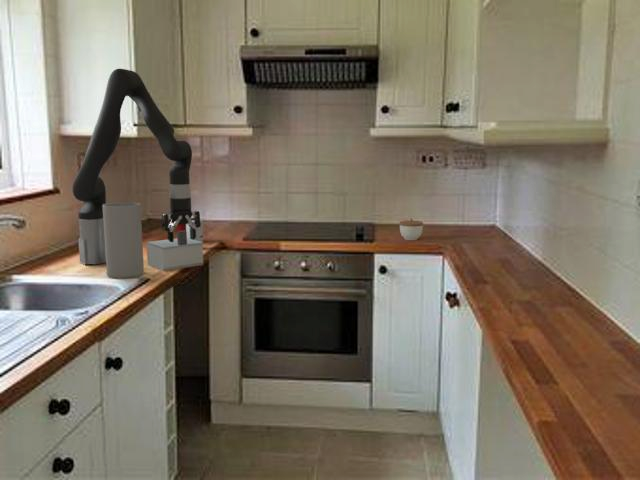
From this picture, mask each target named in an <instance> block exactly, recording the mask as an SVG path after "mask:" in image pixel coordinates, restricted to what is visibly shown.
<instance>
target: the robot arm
mask: <svg viewBox="0 0 640 480" xmlns="http://www.w3.org/2000/svg"><path fill="white" fill-rule="evenodd" d="M103 97H104V98H103V102H102V105H101V108H100V111H99V114H98V117H97V120H96V123H95V125H94V128H93V130H92V134H91V137H90V140H89V143H88V147H87V149H86V153H85V155H84V159H83V161H82V164H81V165H80V168H79V170H78V172H77V175H76V176H75V178H74V181H73V184H72V195H73V196H74V198H75V199H76V200H78V201H80V202H83V203H82V207H81V208H80V210H79V211H78V213H77V214H78V226H79V227H78V229H79V238H78V241H77V242H78V254H79V263H80V262H82V263H84V264H93V265H101V263H102V264H105V263H106V252H105V236H104V220H103V204H107V202H106V201H107V196H106V195H107V194H106V192H107V191H106V186H105V182H104V179H102V177H100V173H101V171H102V168H103V167H104V166H105V164H106V162H108V160H109V159H110V158H111V157H112V156H113V155H112V154H113V153H114V152H115V150H116V148H117V145H118V143H119V140H120V137H121V134H122V122H121V110H122V106H123V103H124V101H125V99H126V97H128V98H130V99H131V100H132V101H133V102H134V103H135V104H136V105H137V107H138V108H139V110H140V113H141V115H142V117H143V121H144V122H145V125H146V127H147V128H148V129H149V130H150V132H151V133H152V135H153V136H154V137H155V138H156V140H157V141H158V144H159V146H160V148H161V152H163V154H164V156H165V157H166V158H167V159H168V160H170V161H172V162H174V164H173V167H172V168H171V169H169V173H168V174H169V191H168V193H169V208H170V212H169V214H168V213H162V214H161V229H162V231H166V232H167V240H169V241H170V242H174V239H175V237H174V230H175V229H176V226H177V225H181V224H188V225H189V227H190V228H191V229H190V238H191V239H192V240H194V239H195V238H196V228H198V227H200V226H201V223H200V221H201V213H200V211H199V210H194V211H192V193H191V184H190V183H191V182H190V169H191V164H192V158H193V150H192V146H191V145H190V143H189V142H188V141H185V140H177V139H176V138H175V136H174V135H175V128H174V127H173V126H172V124H171V122H169V121H168V119H167V118H166V117H165V115H164V114H163V113H162V112H161V110H160V109H159V107H158V106H157V104H156V103H155V101H154V99H153V97H152V95H151V94H150V93H149V91H148V88H147V87H146V85H145V83H144V81H143V80H142V78H141V76H140V75H139V74H138V72H136V71H134V70H129V69H126V68H117V69H114V70H113V71H112V72H111V73H110V74H109V77H108V81H107V84H106V88H105V93H104V96H103ZM191 217H194V223H195V224H194V223H193V221H192V220H191V219H190V218H191ZM169 220H171V221H170V222H169ZM82 263H81V264H82ZM84 264H83V265H84Z"/></svg>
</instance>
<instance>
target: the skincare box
mask: <svg viewBox="0 0 640 480" xmlns="http://www.w3.org/2000/svg"><path fill="white" fill-rule="evenodd" d="M192 221H193V223H194V220H192ZM203 222H204V221H203V220H200V223H201V226H200V227H198V228H196V238H195V239H194V240H196V241H200V242H203V243H204V229H203V228H204V226H203V225H204V224H203ZM194 224H195V223H194ZM190 229H191V228H190V227H189V225H188V224H186V231H187V238H189V239H191V238H190Z"/></svg>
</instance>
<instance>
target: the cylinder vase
mask: <svg viewBox="0 0 640 480" xmlns="http://www.w3.org/2000/svg"><path fill="white" fill-rule="evenodd" d="M141 209H142V207H141V203H140V202H134V201H133V202H132V201H130V202H128V201H126V202H125V201H124V202H123V201H121V202H111V203H110V202H109V203H106V204H103V220H104V236H105V252H106V262H105V263H106V264H105V265H106V266H105V267H106V276H107V277H109V278H111V277H113V278H112V279H118V278H123V279H131V278H137V277H141V276H143V274H144V273H145V266H144V262H145V261H144V247H143V244H144V243H143V230H142V228H143V227H142V225H143V224H142V212H141V211H142V210H141Z"/></svg>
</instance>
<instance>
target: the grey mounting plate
mask: <svg viewBox="0 0 640 480" xmlns="http://www.w3.org/2000/svg"><path fill="white" fill-rule="evenodd" d="M176 235H177V238H174V242H170V241H169V240H168V239H163V240H154V241H153V240H152V241H145V243H146V244H149V245H152V246H155V247H158V248H161V249H169V248H176V247H184V246H192V245H199V244H203V245H204V241H203V242H200V241H196V240H192V239H189V238H187V231H185V230H184V231H177V230H176Z"/></svg>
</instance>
